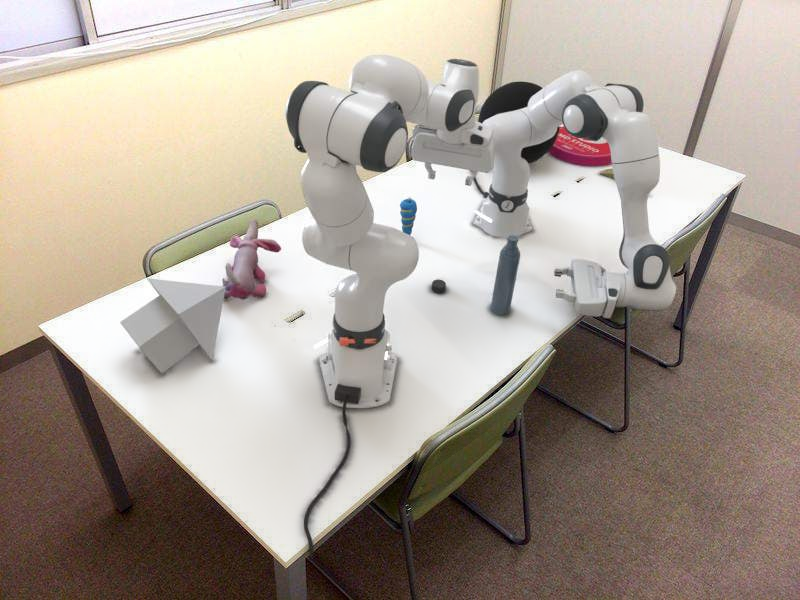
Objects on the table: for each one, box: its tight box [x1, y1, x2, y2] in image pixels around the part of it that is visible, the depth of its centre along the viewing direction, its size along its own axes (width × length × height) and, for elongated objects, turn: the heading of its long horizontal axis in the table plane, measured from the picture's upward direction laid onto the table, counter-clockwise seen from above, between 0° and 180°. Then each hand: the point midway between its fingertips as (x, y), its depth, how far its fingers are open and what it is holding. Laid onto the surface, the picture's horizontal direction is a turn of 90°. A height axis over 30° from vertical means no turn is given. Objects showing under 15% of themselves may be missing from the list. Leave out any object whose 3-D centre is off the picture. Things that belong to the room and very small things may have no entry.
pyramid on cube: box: [119, 277, 226, 374], centre depth 156 cm, size 17×24×18 cm
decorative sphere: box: [477, 80, 561, 165], centre depth 243 cm, size 30×30×30 cm
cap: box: [431, 279, 447, 294], centre depth 184 cm, size 4×4×2 cm
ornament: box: [399, 195, 418, 236], centre depth 199 cm, size 5×5×15 cm
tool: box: [599, 167, 615, 180], centre depth 240 cm, size 22×6×5 cm, turn 26°
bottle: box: [490, 235, 521, 317], centre depth 171 cm, size 5×5×23 cm
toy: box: [221, 218, 282, 301], centre depth 179 cm, size 19×24×15 cm
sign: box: [548, 125, 612, 167], centre depth 263 cm, size 30×4×30 cm
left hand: (449, 181), depth 164 cm, fingers open, 8 cm apart
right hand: (555, 282), depth 171 cm, fingers open, 8 cm apart
